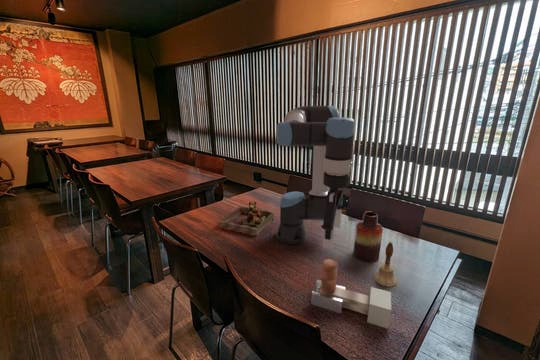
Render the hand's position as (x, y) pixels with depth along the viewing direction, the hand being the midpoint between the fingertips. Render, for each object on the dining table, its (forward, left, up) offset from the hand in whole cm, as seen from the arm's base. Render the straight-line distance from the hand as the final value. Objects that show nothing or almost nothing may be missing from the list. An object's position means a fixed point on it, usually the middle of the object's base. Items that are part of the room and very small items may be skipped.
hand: (332, 236), depth 80 cm
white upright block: (+16, 0, -25) cm, 30 cm away
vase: (+10, +34, -25) cm, 44 cm away
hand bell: (+18, +20, -25) cm, 37 cm away
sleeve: (0, 0, -25) cm, 25 cm away
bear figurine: (-50, +42, -26) cm, 70 cm away
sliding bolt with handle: (+8, 0, -24) cm, 25 cm away
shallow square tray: (-54, +41, -25) cm, 72 cm away
